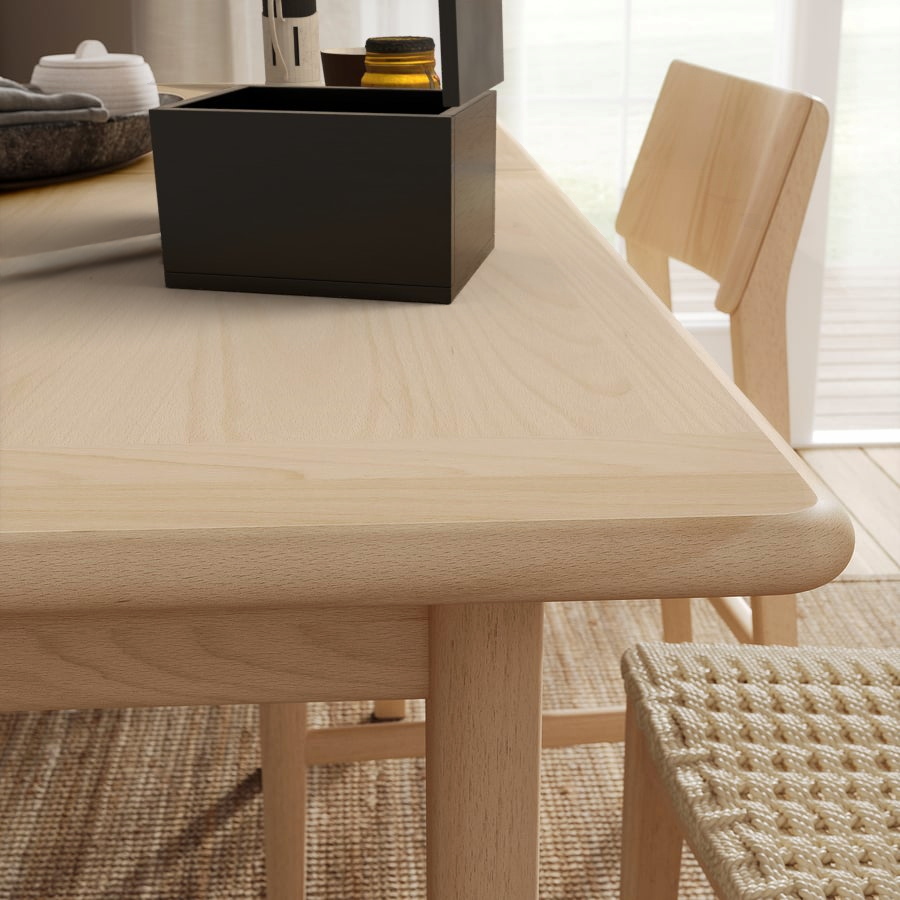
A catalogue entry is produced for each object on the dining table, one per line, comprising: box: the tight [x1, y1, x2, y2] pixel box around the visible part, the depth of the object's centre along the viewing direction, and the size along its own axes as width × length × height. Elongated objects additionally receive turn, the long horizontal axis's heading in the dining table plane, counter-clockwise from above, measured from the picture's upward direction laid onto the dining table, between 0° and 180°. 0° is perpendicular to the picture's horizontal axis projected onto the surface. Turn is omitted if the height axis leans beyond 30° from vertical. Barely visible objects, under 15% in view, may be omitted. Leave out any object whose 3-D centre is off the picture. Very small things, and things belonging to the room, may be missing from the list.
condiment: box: [361, 35, 442, 89], centre depth 90 cm, size 7×8×12 cm
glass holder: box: [261, 0, 324, 86], centre depth 162 cm, size 9×14×15 cm, turn 172°
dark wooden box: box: [148, 84, 498, 305], centre depth 70 cm, size 17×14×10 cm
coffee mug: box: [319, 46, 367, 87], centre depth 102 cm, size 12×9×10 cm
